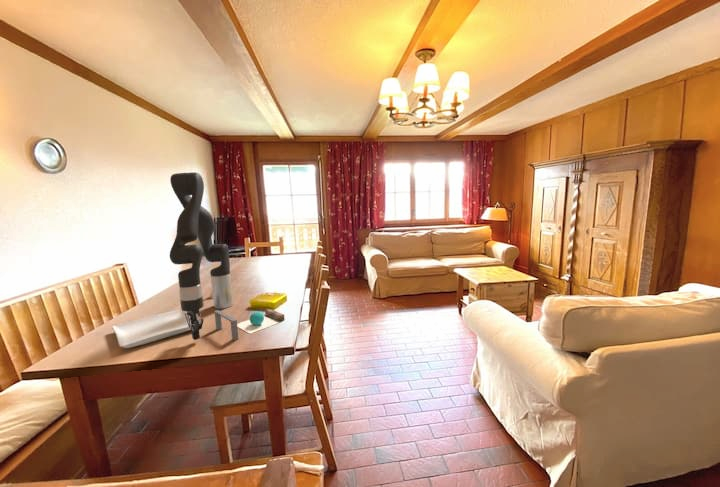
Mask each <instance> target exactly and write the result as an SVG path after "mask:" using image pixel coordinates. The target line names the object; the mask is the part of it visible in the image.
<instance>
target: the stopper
mask: <svg viewBox="0 0 720 487" xmlns="http://www.w3.org/2000/svg"><path fill="white" fill-rule="evenodd" d="M264 312H265V316H268V317H269V318H271V319H272V318H273V320H276V321H278V322H283V321H285V314H284V313H281V312H279V311H276V310H275V309H274V310H271V309H264Z"/></svg>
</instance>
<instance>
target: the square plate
mask: <svg viewBox="0 0 720 487" xmlns="http://www.w3.org/2000/svg"><path fill="white" fill-rule="evenodd" d="M186 313H187V311H182V309H181V308H180V309H177V310H172V311H168V312H163V313H159V314H155V315H149V316H145V317H142V318H138V319H134V320H131V321H128V322H123V323H119V324H116V325H112V327H111V329H112V330H113V332H114V334H115V336H116V339H117V342H118V346H119V347H120V348H121V347H122V348H124V349H130V348H131V349H132V348H134V347H139V346H143V345H147V344H150V343H153V342H157V341H160V340H163V339H167V338H169V337H174V336H177V335H180V334H184V333H186V332H189V331H192V330H191V329H190V327H189V326H188V323H187V320H186V317H185V314H186Z"/></svg>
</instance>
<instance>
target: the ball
mask: <svg viewBox="0 0 720 487" xmlns="http://www.w3.org/2000/svg"><path fill="white" fill-rule="evenodd" d="M264 316H265V315H264V314H263V312H261V311H254V312H252V313H251V314H250V316H249V320H250V322H251V324H253V325H260V324H261V323H262V322H263V320H264Z"/></svg>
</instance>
